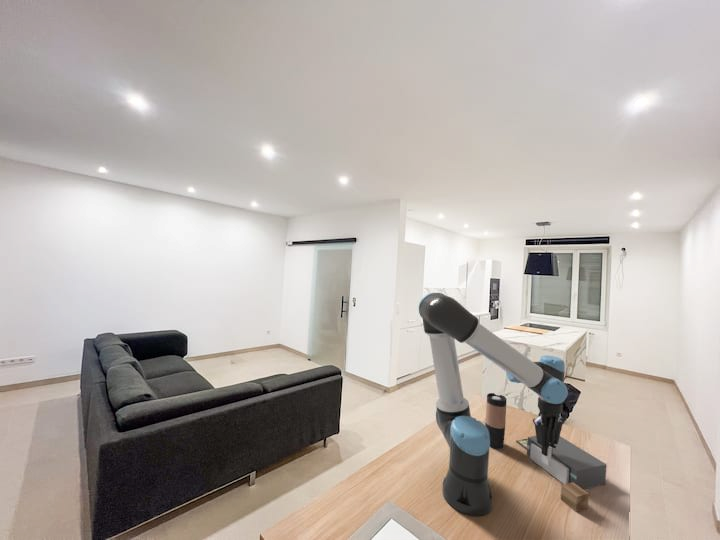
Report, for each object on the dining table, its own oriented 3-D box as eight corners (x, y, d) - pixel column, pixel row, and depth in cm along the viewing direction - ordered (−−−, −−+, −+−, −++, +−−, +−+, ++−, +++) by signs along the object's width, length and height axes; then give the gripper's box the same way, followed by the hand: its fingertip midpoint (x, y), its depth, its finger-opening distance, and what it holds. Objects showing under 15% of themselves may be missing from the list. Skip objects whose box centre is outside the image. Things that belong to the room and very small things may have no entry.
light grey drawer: (565, 485, 103) (566, 469, 103) (530, 458, 117) (530, 443, 117) (593, 479, 107) (594, 463, 107) (555, 453, 121) (556, 439, 121)
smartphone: (546, 466, 114) (546, 463, 114) (516, 443, 129) (516, 440, 129) (563, 463, 116) (563, 460, 116) (531, 440, 131) (531, 437, 131)
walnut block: (575, 511, 92) (576, 496, 92) (560, 499, 97) (561, 484, 97) (587, 508, 94) (588, 493, 94) (572, 496, 99) (573, 482, 99)
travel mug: (492, 450, 122) (495, 401, 121) (480, 439, 129) (482, 393, 129) (508, 448, 124) (511, 400, 123) (495, 437, 131) (497, 392, 131)
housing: (573, 491, 101) (575, 471, 101) (525, 454, 120) (526, 437, 120) (605, 483, 105) (606, 464, 105) (553, 449, 124) (554, 432, 124)
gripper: (545, 405, 104) (541, 472, 105) (573, 402, 108) (569, 467, 108) (527, 396, 111) (523, 459, 112) (554, 393, 115) (550, 454, 115)
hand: (546, 463), depth 110 cm, fingers closed
